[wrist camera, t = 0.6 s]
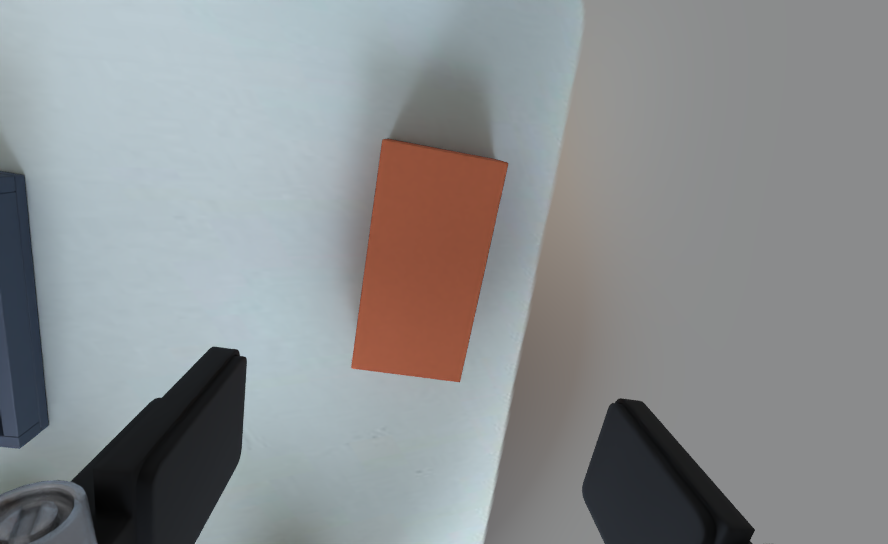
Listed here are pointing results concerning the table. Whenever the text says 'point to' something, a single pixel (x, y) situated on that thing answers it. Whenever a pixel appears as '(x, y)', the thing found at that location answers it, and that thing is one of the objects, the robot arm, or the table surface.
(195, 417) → the robot arm
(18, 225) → the pad frame
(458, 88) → the table surface
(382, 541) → the table surface
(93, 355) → the table surface
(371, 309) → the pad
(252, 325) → the table surface
